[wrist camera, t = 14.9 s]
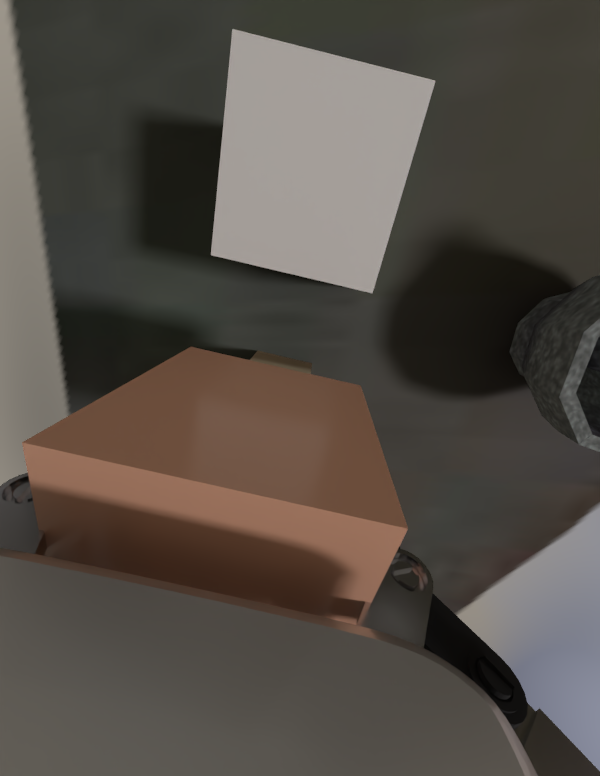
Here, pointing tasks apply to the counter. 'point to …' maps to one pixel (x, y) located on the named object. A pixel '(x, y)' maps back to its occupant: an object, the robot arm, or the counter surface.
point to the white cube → (313, 160)
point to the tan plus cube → (282, 362)
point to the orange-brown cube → (224, 484)
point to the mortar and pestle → (564, 361)
